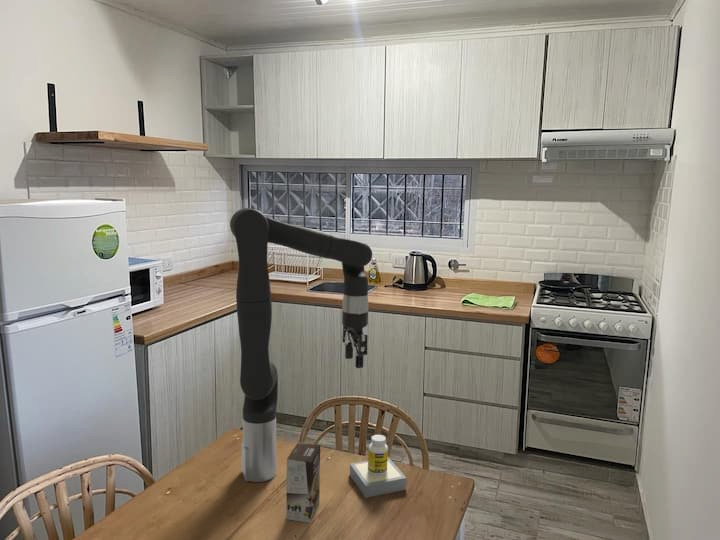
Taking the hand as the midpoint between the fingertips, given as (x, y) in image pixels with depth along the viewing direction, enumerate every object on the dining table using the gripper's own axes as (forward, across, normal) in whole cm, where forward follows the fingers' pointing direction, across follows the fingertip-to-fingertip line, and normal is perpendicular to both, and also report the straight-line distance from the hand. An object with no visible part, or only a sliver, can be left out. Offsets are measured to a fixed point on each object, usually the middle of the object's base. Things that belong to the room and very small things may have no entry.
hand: (354, 362), depth 159 cm
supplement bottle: (+27, +15, +2) cm, 31 cm away
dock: (+30, +15, +2) cm, 34 cm away
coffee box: (+30, +21, -21) cm, 42 cm away
